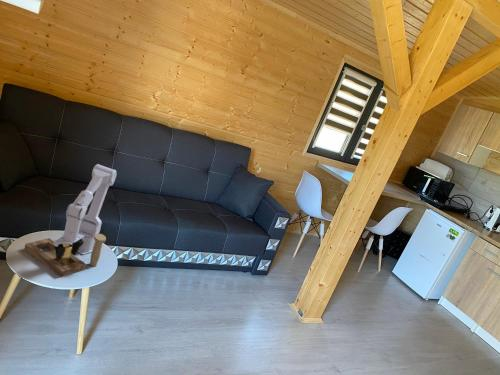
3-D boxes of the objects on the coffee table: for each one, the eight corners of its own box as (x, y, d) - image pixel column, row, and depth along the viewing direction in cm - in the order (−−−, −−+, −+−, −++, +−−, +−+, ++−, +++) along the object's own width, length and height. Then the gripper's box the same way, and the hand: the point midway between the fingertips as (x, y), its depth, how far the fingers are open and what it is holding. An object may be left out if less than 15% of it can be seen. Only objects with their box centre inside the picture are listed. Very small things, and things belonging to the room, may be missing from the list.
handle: (90, 268, 177) (97, 240, 174) (85, 261, 182) (92, 233, 178) (100, 267, 181) (107, 240, 177) (95, 260, 185) (102, 233, 181)
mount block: (48, 243, 185) (49, 238, 184) (84, 269, 175) (85, 263, 175) (24, 249, 174) (25, 243, 174) (61, 277, 165) (62, 271, 164)
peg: (63, 261, 175) (68, 242, 173) (70, 265, 174) (74, 246, 171) (55, 263, 171) (59, 244, 169) (61, 268, 170) (66, 249, 167)
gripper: (79, 222, 176) (73, 248, 179) (51, 228, 163) (45, 256, 166) (90, 229, 173) (83, 255, 176) (62, 235, 160) (55, 263, 164)
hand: (65, 256), depth 171 cm, fingers open, 7 cm apart
